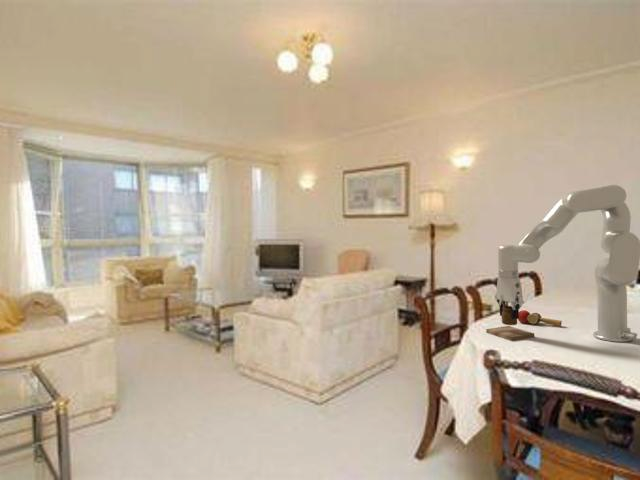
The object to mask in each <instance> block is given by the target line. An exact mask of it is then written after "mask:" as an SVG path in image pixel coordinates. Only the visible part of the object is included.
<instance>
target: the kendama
mask: <svg viewBox="0 0 640 480" xmlns="http://www.w3.org/2000/svg"><path fill="white" fill-rule="evenodd" d="M517 321H519V322H520V323H521V324H529V323H530V324H538V323H544V324H547V325H551V326H555V327H558V328H561V327H562V323H563V322H562V320H557V319H552V318H547V317H542V315H541V314H540V313H538V312H532V313H530V312H529V311H528V310H525V309H524V310H523V309H522V310H519V319H517Z"/></svg>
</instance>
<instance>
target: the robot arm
mask: <svg viewBox="0 0 640 480" xmlns="http://www.w3.org/2000/svg"><path fill="white" fill-rule="evenodd" d="M626 200H627V191H626V190H625V189H624V188H623V187H622V186H620V185H617V184H610V185H603V186H600V187H594V188H589V189H581V190H575V191H570V192H567V193H565V194H564V195H562V196H561V197H560V199H558V201H557V202H556V203H555V205H553V207H552V208H551V209H550V210H549V211H548V213H547V214H546V215H545V216H544V217H543V218H542V219H541V220H540V221H539V222H538V223H537V225H535V226H534V227H533V229H531V231H529V232H528V233H527V235H525V236H524V238H523V239H522V240H521V241H520V242H519V244H518V245H512V244H503V245H499V246H498V248H497V260H498V261H497V262H498V263H497V265H498V267H497V270H498V277H497V281H496V283H497V284H496V294H495V295H494V299H495V300H496V303H497V304H498V307H499V316H500V317H502V311H503V310H502V308H503V307H504V306H507V305H506V304H507V303H510V302H511V303H510V306H512V308H513V309H512V319H517V320H518V319H519V312H520V309H521V308H522V306H524V304H525V301H524V298H523V297H524V296H523V289H522V288H523V286H522V283H521V278H520V277H519V276H520V273H519V263H525V264H532V263H535V262H537V261H539V260H540V258H541V252H540V248H541V247H542V246H544V245H545V244H546V242H548V241H550V240H551V239H553V238H554V237H556V236H559V235H560V233H563V231H564V230H565V229H566V227H567V226H568V225H569V224H570V223H571V221H573V219H574V218H576V216H577V215H578V214H579V213H588V212H594V211H600V212H601V213H602V217H603V227H602V234H601V240H600V247H601V249H602V251H603V252H604V253H606V254H609V257H607V258H603V259H601V260H599V261H598V262H597V263H596V265H595V267H594V276H595V283H596V292H597V293H596V294H597V296H596V297H597V298H596V299H597V300H596V301H597V309H596V310H597V330H596V331H593V332H592V333H593V337H594V338H596V339H599V340H603V341H609V342H616V343H617V342H618V343H621V342H622V343H626V342H627V343H628V342H631V341H633V340H636V339H637V337H638V333H637V332H632V331H631V328H630V327H628V291H627V286H628V285H631V284H632V283H634V282H635V280H636V279H637V277H638V274H639V267H640V239H639V237H638V236H637V235H636V234H635V233H634V232H633V233H632V232H631V220H632V219H631V212H630V209H629V206H628V205H627V203H626V202H625V201H626ZM500 295H501V296H500ZM501 298H502V300H503V303H502V300H501ZM503 304H504V306H503Z"/></svg>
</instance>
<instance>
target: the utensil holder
mask: <svg viewBox="0 0 640 480" xmlns="http://www.w3.org/2000/svg"><path fill="white" fill-rule="evenodd" d="M500 296H501V295H500ZM501 300H502V298H501ZM502 303H503V300H502ZM509 303H510V304H511V302H509ZM503 306H504V304H503ZM512 309H513V308H512V305H505V306H504V307H503V308H502V310H503V311H502V316H501V323H502V324H503V325H505V326H517V324H518V319H512Z"/></svg>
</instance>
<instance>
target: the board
mask: <svg viewBox="0 0 640 480" xmlns="http://www.w3.org/2000/svg"><path fill="white" fill-rule="evenodd" d="M485 333H487V334H490V335H493V336H495V337H498V338H501V339H504V340H506V341H507V340H508V341H510V342H512V341H519V340H524V339H525V340H526V339H530V338H535V333H534V332H531V331H527V330H524V329H520V328H517V327H513V326H512V325H505V326H498V327H493V328H492V327H491V328H486V332H485Z"/></svg>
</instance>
